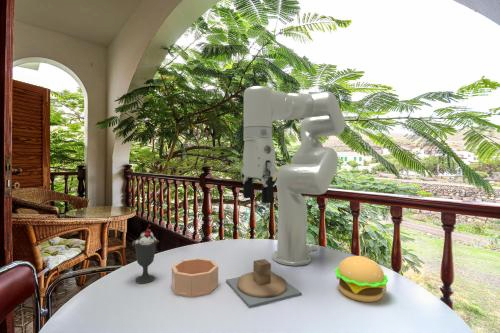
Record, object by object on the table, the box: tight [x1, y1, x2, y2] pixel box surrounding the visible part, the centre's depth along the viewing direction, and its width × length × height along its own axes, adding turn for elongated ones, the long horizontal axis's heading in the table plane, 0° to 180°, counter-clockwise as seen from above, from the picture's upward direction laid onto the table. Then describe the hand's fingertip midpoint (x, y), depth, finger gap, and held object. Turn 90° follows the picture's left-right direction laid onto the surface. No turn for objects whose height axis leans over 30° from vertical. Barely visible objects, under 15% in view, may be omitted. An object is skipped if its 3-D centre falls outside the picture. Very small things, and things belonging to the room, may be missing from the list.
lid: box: [237, 258, 287, 298], centre depth 66 cm, size 12×12×6 cm
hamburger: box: [334, 255, 389, 303], centre depth 64 cm, size 12×12×9 cm
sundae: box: [131, 224, 160, 285], centre depth 69 cm, size 7×7×15 cm
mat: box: [225, 271, 303, 309], centre depth 66 cm, size 14×14×1 cm
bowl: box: [170, 257, 219, 298], centre depth 66 cm, size 11×11×5 cm
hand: (257, 200), depth 69 cm, fingers open, 9 cm apart
